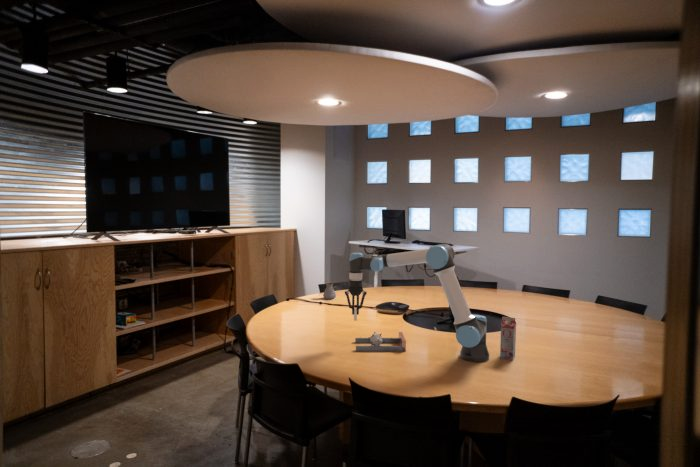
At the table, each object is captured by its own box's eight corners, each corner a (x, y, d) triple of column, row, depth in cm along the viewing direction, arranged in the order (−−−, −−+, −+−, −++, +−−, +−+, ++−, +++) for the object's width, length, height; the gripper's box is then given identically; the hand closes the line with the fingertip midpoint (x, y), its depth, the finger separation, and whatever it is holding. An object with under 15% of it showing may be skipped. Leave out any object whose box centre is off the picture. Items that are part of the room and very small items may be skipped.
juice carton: (513, 360, 233) (514, 319, 232) (500, 358, 237) (501, 317, 235) (515, 356, 239) (516, 316, 238) (502, 354, 242) (503, 315, 241)
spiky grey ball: (375, 353, 254) (368, 342, 249) (370, 344, 261) (364, 333, 256) (388, 346, 254) (381, 334, 249) (384, 337, 261) (377, 325, 256)
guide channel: (405, 351, 247) (405, 340, 247) (355, 351, 247) (355, 340, 246) (401, 341, 264) (402, 332, 263) (355, 341, 264) (355, 332, 263)
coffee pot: (320, 299, 384) (320, 282, 383) (327, 296, 394) (327, 280, 393) (342, 301, 374) (342, 284, 373) (348, 299, 384) (348, 282, 383)
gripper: (366, 278, 257) (366, 318, 258) (344, 278, 256) (344, 318, 258) (367, 280, 249) (366, 321, 251) (344, 280, 249) (344, 321, 251)
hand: (355, 319), depth 254 cm, fingers closed
